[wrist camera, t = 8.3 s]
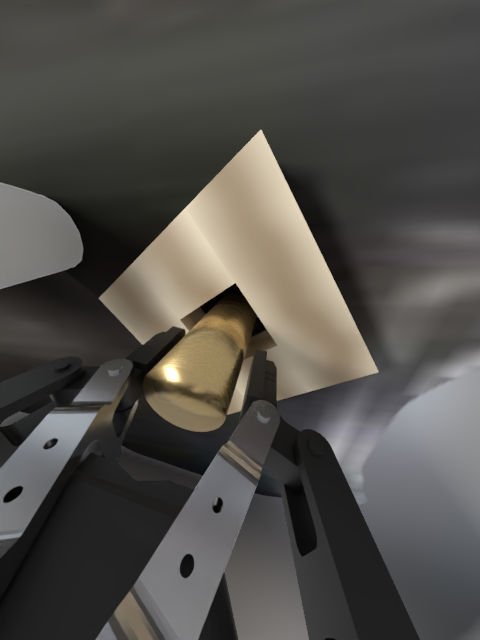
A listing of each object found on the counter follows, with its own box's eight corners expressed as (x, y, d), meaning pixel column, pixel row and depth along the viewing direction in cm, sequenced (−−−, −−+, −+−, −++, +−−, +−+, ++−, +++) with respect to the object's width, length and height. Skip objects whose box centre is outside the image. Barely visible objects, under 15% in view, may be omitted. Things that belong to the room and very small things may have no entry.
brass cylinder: (231, 337, 18) (182, 437, 9) (208, 306, 17) (126, 383, 8) (264, 320, 16) (244, 422, 7) (241, 285, 15) (184, 352, 6)
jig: (222, 392, 21) (212, 418, 18) (130, 287, 17) (98, 298, 14) (358, 344, 15) (379, 372, 12) (265, 159, 11) (261, 129, 8)
